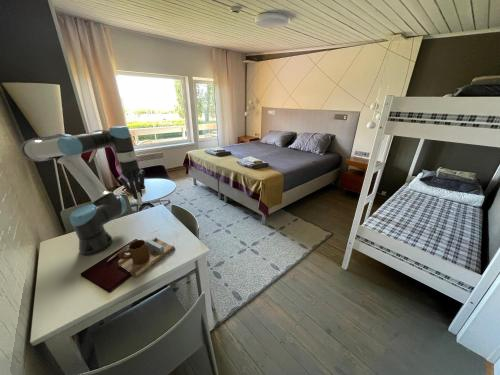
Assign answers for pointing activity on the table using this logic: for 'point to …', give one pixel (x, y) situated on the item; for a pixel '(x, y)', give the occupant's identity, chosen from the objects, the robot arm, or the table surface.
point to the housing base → (153, 259)
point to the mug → (136, 252)
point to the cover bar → (155, 246)
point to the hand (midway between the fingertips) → (140, 203)
